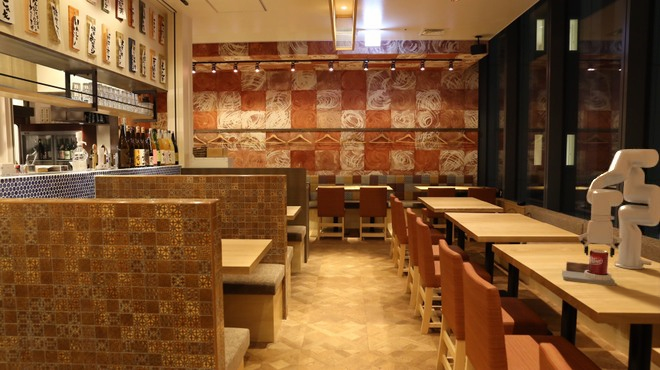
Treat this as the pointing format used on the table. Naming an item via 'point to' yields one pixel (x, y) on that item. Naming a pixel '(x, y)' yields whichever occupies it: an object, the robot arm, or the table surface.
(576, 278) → the board
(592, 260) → the soda can
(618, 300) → the table surface
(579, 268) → the rail
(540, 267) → the table surface
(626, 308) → the table surface
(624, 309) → the table surface
